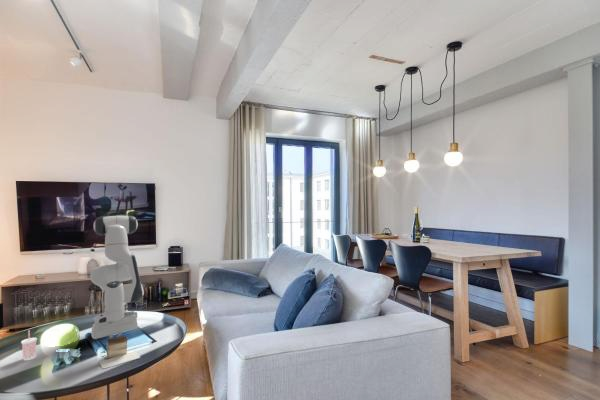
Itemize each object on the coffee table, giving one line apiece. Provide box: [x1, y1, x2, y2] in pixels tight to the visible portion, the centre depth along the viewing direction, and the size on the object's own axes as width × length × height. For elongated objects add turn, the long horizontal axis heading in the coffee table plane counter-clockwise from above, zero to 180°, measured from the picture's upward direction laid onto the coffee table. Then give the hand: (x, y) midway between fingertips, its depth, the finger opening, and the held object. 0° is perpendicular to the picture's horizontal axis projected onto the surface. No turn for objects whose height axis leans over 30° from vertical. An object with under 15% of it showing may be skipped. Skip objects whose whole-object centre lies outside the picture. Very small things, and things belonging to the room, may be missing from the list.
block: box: [106, 334, 128, 359], centre depth 163 cm, size 4×8×8 cm, turn 131°
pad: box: [98, 350, 141, 370], centre depth 158 cm, size 9×16×1 cm, turn 131°
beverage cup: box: [20, 329, 38, 361], centre depth 162 cm, size 6×6×14 cm
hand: (115, 342), depth 165 cm, fingers closed
